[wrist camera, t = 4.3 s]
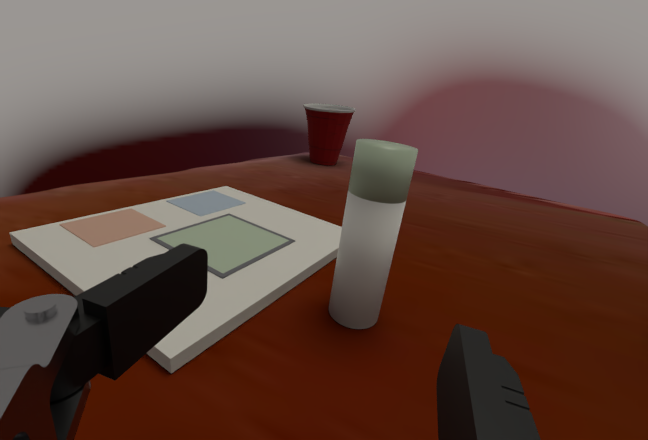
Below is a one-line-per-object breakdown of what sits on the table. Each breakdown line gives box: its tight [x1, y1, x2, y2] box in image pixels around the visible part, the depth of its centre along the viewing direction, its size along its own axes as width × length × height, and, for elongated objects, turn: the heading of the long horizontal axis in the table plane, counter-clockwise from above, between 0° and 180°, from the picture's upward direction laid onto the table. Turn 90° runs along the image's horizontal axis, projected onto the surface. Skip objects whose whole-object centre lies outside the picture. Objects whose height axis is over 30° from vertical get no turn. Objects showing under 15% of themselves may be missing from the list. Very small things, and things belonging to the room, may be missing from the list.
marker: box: [329, 139, 418, 329], centre depth 21 cm, size 4×4×12 cm
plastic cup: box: [303, 104, 356, 165], centre depth 68 cm, size 11×11×12 cm
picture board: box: [10, 186, 342, 374], centre depth 30 cm, size 20×22×1 cm
